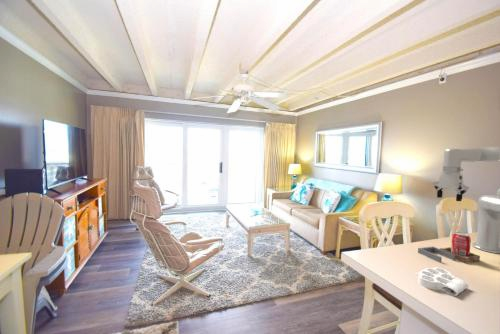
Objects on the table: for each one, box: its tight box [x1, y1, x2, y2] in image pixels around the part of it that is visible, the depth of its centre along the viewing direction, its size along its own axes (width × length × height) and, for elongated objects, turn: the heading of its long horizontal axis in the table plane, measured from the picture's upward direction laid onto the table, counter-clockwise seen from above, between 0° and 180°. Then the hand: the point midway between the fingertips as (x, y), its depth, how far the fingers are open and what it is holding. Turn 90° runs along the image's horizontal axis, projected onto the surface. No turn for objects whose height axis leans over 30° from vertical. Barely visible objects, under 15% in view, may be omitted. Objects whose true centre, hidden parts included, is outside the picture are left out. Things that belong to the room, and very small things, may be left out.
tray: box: [439, 246, 481, 264], centre depth 115 cm, size 11×11×2 cm
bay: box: [417, 246, 456, 263], centre depth 114 cm, size 11×11×2 cm
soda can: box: [450, 231, 472, 257], centre depth 114 cm, size 7×7×12 cm
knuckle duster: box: [415, 267, 469, 297], centre depth 90 cm, size 3×18×15 cm
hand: (448, 199), depth 126 cm, fingers open, 9 cm apart
